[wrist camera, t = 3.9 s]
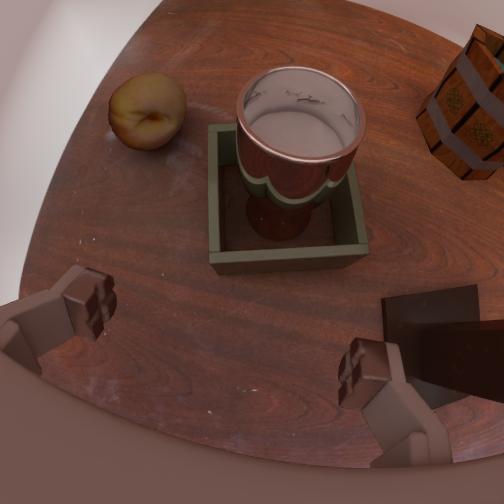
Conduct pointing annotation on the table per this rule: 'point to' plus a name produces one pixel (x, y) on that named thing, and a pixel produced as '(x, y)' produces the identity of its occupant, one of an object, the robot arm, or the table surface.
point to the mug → (469, 109)
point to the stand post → (446, 345)
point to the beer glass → (294, 144)
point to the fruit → (147, 110)
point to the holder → (283, 259)
